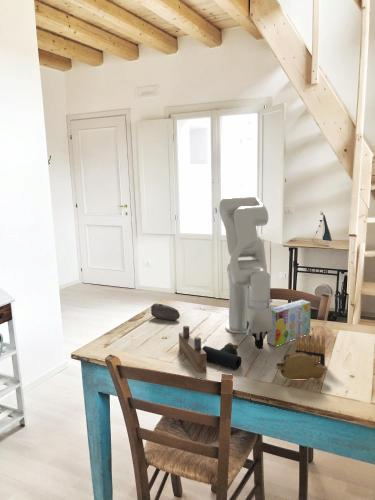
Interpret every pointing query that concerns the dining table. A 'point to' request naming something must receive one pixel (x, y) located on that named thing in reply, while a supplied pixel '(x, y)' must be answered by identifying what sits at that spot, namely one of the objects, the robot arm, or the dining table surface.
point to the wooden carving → (300, 366)
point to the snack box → (289, 322)
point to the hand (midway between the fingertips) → (258, 347)
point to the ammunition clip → (311, 347)
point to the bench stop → (192, 350)
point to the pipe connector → (224, 356)
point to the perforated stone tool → (164, 312)
